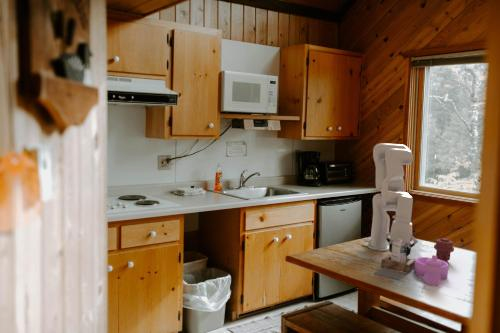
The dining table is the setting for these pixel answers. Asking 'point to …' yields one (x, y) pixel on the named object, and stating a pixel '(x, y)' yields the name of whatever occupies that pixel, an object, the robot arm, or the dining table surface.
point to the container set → (431, 269)
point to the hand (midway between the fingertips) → (399, 253)
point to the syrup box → (399, 251)
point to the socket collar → (398, 264)
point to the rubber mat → (390, 273)
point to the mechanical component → (443, 249)
